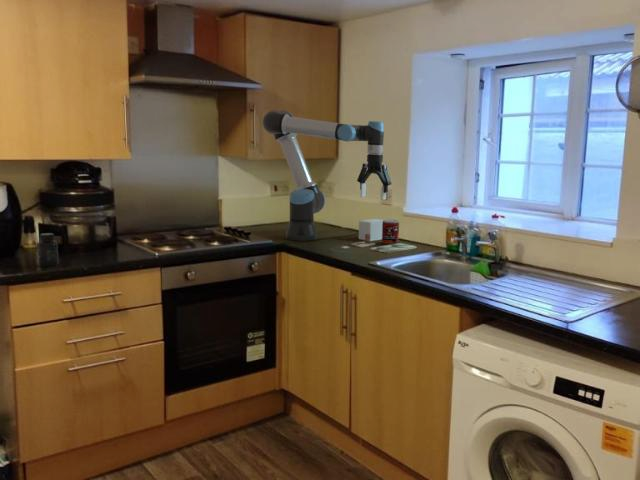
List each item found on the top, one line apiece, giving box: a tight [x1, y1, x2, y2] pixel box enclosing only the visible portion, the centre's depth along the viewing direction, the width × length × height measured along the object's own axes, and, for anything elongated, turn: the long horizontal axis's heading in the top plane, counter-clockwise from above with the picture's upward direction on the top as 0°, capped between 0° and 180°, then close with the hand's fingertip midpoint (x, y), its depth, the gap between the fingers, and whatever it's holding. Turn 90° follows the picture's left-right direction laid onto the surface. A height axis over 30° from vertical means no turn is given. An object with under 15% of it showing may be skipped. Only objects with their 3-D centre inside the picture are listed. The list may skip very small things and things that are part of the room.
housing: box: [358, 218, 384, 242], centre depth 299 cm, size 8×12×9 cm, turn 133°
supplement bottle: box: [37, 232, 59, 268], centre depth 229 cm, size 7×7×12 cm
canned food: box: [381, 218, 400, 246], centre depth 287 cm, size 8×8×11 cm
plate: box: [350, 234, 376, 248], centre depth 282 cm, size 6×10×5 cm, turn 133°
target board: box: [370, 242, 417, 254], centre depth 275 cm, size 10×20×1 cm, turn 133°
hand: (373, 198), depth 297 cm, fingers open, 13 cm apart
